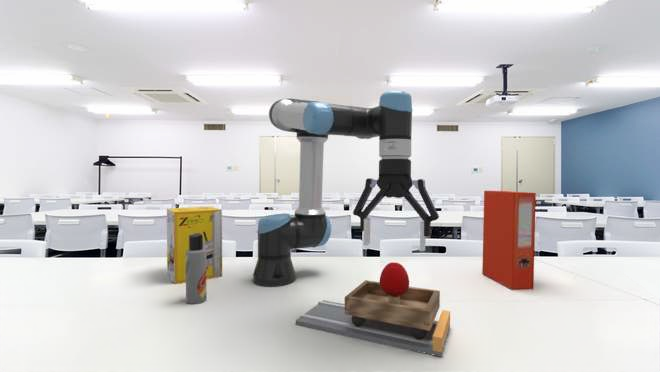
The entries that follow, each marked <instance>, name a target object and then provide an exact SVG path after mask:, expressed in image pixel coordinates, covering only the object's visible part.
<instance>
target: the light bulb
mask: <svg viewBox="0 0 660 372" xmlns="http://www.w3.org/2000/svg"><path fill="white" fill-rule="evenodd" d="M379 282H380V286H381V289H382V290H383V291H384V292H385V293H386V294H388V296H389V303H394V304H400V295H403V294H404V293H405V292H407V290H408V288H409V287H410V279H409V274H408V272H407V270H406V268H405V267H404V266H403V265H402V264H401V263H399V262H389V263H387V264H386V265H385V266H384V268H383V269H382V271H381V273H380V277H379Z"/></svg>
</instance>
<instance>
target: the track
mask: <svg viewBox="0 0 660 372" xmlns="http://www.w3.org/2000/svg"><path fill="white" fill-rule="evenodd" d="M295 325H296V326H297V325H299V326H302V327H306V328H311V329H315V330H320V331H324V332H328V333H334V334H338V335H342V336H347V337H351V338H355V339H360V340H364V341H368V342H373V343H377V344H381V345H386V346H390V345H391V346H390V347H394V346H395V348H399V347H400V348H399V349H403V348H405V349H404V350H407V349H410V350H409V351H412V350H415V351H414V352H416V351H420V352H419V353H421V352H425V353H429V354H434V355H437V356H436V357H438V356H442V357H443V355H444V351H443V350H445V347H446V344H445V343H447V340H446V339H448V337H449V332H450V329H451V311H450V310H444V309H442V310H441V313H440V317H439V318H438V320H434V322H433V325H432V327H431V330H430V331H428V330H426V334H425V337H424V338H423V339H420V340H419V339H416V338H414V337H413V336H412V333H411V329H412V327H408V326H403V325H398V324H392V323H387V322H382V321H377V320H372V319H367V318H366V321H365V323H364V324H363V325H362V326H360V327H357V326H355V325H354V324H353V323H352V315H346V314H345V303H340V302H334V301H329V300H324V299H323V300H319V301H318V302H317V304H316V305H314V306H313V307H312V308H310V309H309V310H308V311H306V312H305V313H301V314H300V315H299V317H298V318H297V319H296V320H295ZM444 346H445V347H444ZM425 353H424V354H425ZM429 354H428V355H429ZM434 355H433V356H434Z"/></svg>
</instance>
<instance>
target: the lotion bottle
mask: <svg viewBox="0 0 660 372" xmlns="http://www.w3.org/2000/svg"><path fill="white" fill-rule="evenodd" d="M207 285H208V284H207V279H206V249H203V235H202V234H201V233H196V234H192V235H189V250H187V251H186V282H185V301H186V303H187V304H189V305H196V304H197V305H198V304H201V303H203V302H206V300H207V295H208V293H207Z"/></svg>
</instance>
